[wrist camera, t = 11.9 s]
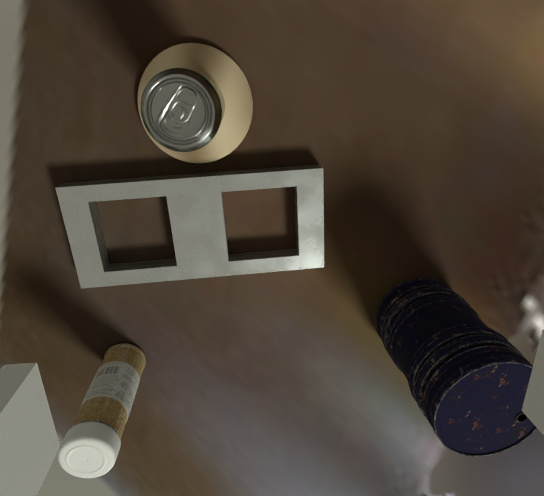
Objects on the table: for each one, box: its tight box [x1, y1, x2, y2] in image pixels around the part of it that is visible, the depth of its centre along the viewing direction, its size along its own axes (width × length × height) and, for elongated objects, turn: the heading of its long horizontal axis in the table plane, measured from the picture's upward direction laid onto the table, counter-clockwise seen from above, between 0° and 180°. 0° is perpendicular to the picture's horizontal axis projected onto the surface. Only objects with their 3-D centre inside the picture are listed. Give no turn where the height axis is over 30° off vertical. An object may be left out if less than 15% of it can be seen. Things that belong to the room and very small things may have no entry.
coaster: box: [138, 43, 253, 163], centre depth 36 cm, size 10×10×1 cm
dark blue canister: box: [375, 277, 537, 456], centre depth 40 cm, size 10×10×15 cm
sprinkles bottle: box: [58, 343, 146, 478], centre depth 39 cm, size 5×5×13 cm
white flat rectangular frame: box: [55, 164, 324, 288], centre depth 40 cm, size 24×10×2 cm, turn 93°
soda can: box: [141, 68, 225, 152], centre depth 30 cm, size 5×5×12 cm
